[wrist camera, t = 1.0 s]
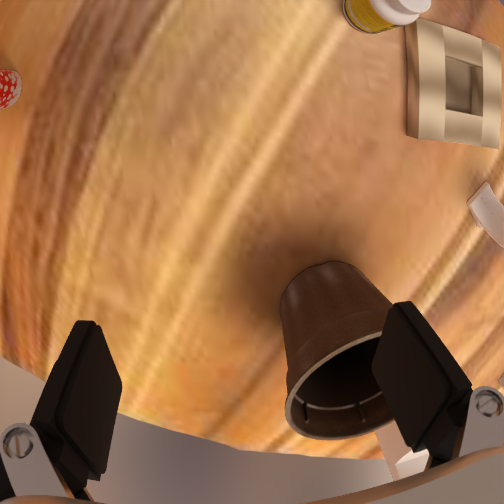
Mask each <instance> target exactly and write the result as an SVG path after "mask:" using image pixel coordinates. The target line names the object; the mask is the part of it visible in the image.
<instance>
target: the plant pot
mask: <svg viewBox="0 0 504 504" xmlns="http://www.w3.org/2000/svg"><path fill="white" fill-rule="evenodd" d="M392 306H393V304H392V303H391V302H390V301H389V300H388V299H387V298H386V297H385V296H384V295H383V294H382V293H381V292H380V291H379V290H378V289H377V288H376V287H375V286H374V285H373V284H372V283H371V282H370V281H369V280H368V279H367V278H366V277H365V275H364V274H363V273H362V272H361V271H359V270H358V269H357V268H355V267H354V266H352V265H349V264H346V263H343V262H337V261H335V262H326V263H325V264H323V265H319V266H315V267H310V268H308V269H306V270H304V271H303V272H301V273H300V274H299V275H298V276H297V277H296V278H294V279H293V281H292V282H291V283H290V284H289V285H288V287H287V289H286V290H285V292H284V294H283V296H282V299H281V304H280V314H281V321H282V328H283V335H284V342H285V350H286V357H287V365H288V371H287V377H286V383H287V393H288V395H287V398H286V402H285V416H286V420H287V422H288V424H289V425H290V427H291V428H292V429H293V430H294V431H295V432H297V433H298V434H300V435H302V436H305V437H308V438H311V439H316V440H342V439H348V438H353V437H358V436H362V435H365V434H368V433H371V432H373V431H376V430H378V429H380V428H382V427H384V426H386V425H388V424H390V423H392V422H393V421H395V419H394V417H393V415H392V413H391V411H390V409H389V406H388V404H387V402H386V400H385V398H384V396H383V393H382V391H381V389H380V387H379V385H378V383H377V381H376V379H375V377H374V374H373V372H372V362H373V359H374V356H375V353H376V350H377V347H378V343H379V340H380V337H381V334H382V330H383V327H384V324H385V320H386V317H387V313H388V310H389V309H390V308H392Z"/></svg>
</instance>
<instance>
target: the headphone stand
mask: <svg viewBox="0 0 504 504" xmlns="http://www.w3.org/2000/svg"><path fill="white" fill-rule="evenodd" d="M467 205H468V207H469V209H470V211H471V213H472V215H473V218H474V220H475V222H476V224H477V226H478V227H479V228H482V227H483V228H484V229H485V231H486V232H487V233H488V234H489V235H490V236H491V237H492V238H493V239H494V240H495V241H496V242H497V243H498V244H499V245H500V246H502V247H503V248H504V206H503V205H502V204H501V203H500V201H499V200H498V199H497V197H496V196H495V194H494V193H493V191H492V189H491V187H490V185H489V183H487V182H485V183H484V184H483V185H482V186H481V187H480V188H479V189H478V191H477V192H476V193H475V194H474V195H473V196H472V197H471V198H470V199H469V200H468V201H467Z"/></svg>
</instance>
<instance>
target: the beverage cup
mask: <svg viewBox="0 0 504 504" xmlns="http://www.w3.org/2000/svg"><path fill="white" fill-rule="evenodd" d="M21 90H22V79H21V77H20V75H19V74H18V73H17V72H16V71H13V70H5V69H0V110H2V109H5V108H8V107H11V106H12V105H14V104H15V103H16V102H17V100H18V98H19V96H20V94H21Z"/></svg>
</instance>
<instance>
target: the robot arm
mask: <svg viewBox="0 0 504 504" xmlns="http://www.w3.org/2000/svg"><path fill="white" fill-rule="evenodd" d="M372 372H373V374H374V377H375V379H376V381H377V383H378V385H379V387H380V389H381V391H382V393H383V396H384V398H385V400H386V402H387V404H388V406H389V409H390V411H391V413H392V415H393V417H394V419H395V422H396V424H397V426H398V428H399V431H400V433H401V435H402V437H403V440H404V442H405V444H406V445H407V447H411V449H412V451H413V453H417V452H420V451H423V450H425V449H427V450H428V452H429V458H428V461H427V463H426V466H425V469H424V471H423V472H420V473H417V474H414V475H411V476H408V477H405V478H402V479H399V480H396V481H393V482H390V483H387V484H384V485H380V486H377V487H373V488H370V489H366V490H363V491H358V492H355V493H350V494H346V495H342V496H337V497H333V498H328V499H323V500H318V501H312V502H306V503H300V504H504V396H503V395H502V394H501V393H500V392H499V391H498V390H496V389H494V388H492V387H488V386H482V387H478V388H476V389H475V390H474V391H473V390H472V388H471V386H472V384H471V382H470V381H469V379H468V378H467V376H466V375H465V373H464V372H463V370H462V369H461V367H460V366H459V365H458V363H457V362H456V360H455V359H454V357H453V356H452V355H451V353H450V352H449V350H448V349H447V348H446V346H445V345H444V344H443V342H442V341H441V339H440V338H439V337H438V335H437V334H436V333H435V331H434V330H433V329H432V327H431V326H430V325H429V323H428V322H427V321H426V319H425V318H424V317H423V316H422V314H421V313H420V312H419V310H418V309H417V308H416V306H415V305H414V304H413V303H412V302H411V301H405V302H398V303H394V304H393V306H392V308H390V309H389V310H388V313H387V317H386V320H385V324H384V327H383V330H382V334H381V337H380V340H379V343H378V347H377V350H376V353H375V356H374V359H373V362H372ZM121 393H122V381H121V378H120V376H119V374H118V371H117V369H116V366H115V364H114V361H113V359H112V356H111V353H110V351H109V348H108V345H107V343H106V340H105V337H104V334H103V332H102V329H101V327H100V326H99V325H96V323H95V322H94V321H86V320H78V321H76V322H75V324H74V326H73V328H72V330H71V332H70V334H69V336H68V339H67V341H66V343H65V345H64V347H63V349H62V351H61V353H60V356H59V358H58V360H57V361H56V362H55V364H54V366H53V368H52V371H51V373H50V375H49V377H48V380H47V382H46V385H45V387H44V389H43V392H42V394H41V397H40V399H39V402H38V404H37V407H36V409H35V412H34V414H33V417H32V420H31V423H30V425H28V424H25V423H16V424H13V425H11V426H9V427H8V428H6V430H5V431H4V432H3V433H2V435H1V437H0V504H104V503H98V502H95V501H94V500H93V498H92V497H91V495H90V493H89V492H88V490H87V489H86V485H87V479H90V480H96V481H100V477H101V474H104V473H105V471H106V468H107V462H108V456H109V450H110V445H111V440H112V435H113V429H114V425H115V419H116V415H117V410H118V406H119V401H120V397H121Z"/></svg>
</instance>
